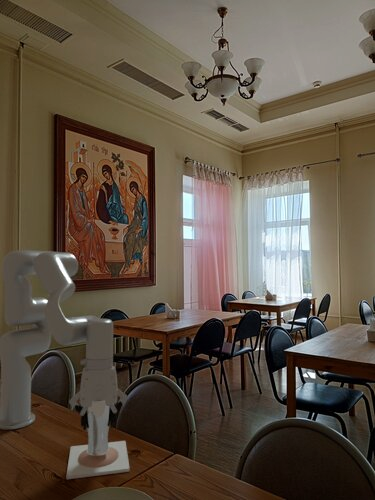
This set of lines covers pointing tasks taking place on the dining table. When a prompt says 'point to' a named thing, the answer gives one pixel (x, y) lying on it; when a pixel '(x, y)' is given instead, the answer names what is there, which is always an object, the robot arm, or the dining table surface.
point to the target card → (97, 461)
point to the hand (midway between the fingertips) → (98, 426)
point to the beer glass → (98, 428)
